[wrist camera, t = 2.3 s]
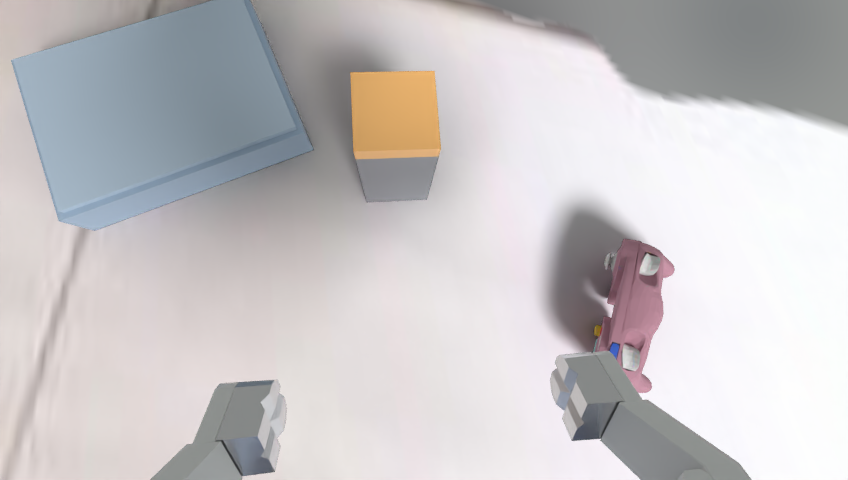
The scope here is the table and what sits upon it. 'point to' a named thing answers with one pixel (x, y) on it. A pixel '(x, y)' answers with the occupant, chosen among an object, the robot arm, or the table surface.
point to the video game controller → (633, 307)
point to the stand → (157, 111)
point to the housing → (395, 133)
